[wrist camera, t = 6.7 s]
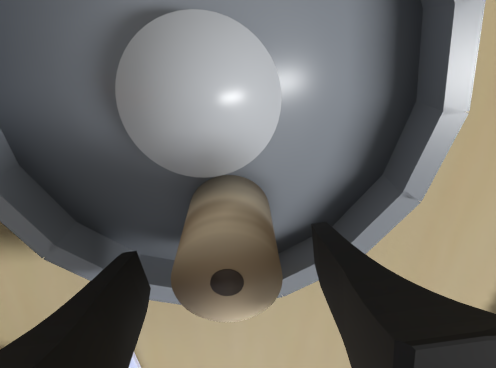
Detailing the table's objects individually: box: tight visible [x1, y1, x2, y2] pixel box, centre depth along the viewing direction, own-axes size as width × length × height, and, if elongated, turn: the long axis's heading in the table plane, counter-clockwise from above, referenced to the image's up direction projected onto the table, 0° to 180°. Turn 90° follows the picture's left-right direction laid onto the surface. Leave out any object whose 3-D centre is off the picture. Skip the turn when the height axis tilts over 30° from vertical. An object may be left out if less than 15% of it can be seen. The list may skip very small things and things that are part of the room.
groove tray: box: [0, 0, 486, 305], centre depth 13 cm, size 20×20×3 cm
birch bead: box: [171, 175, 283, 322], centre depth 14 cm, size 4×4×5 cm
